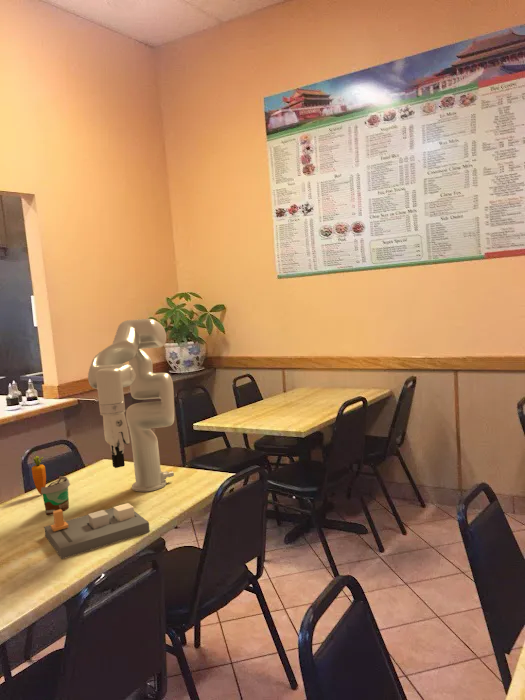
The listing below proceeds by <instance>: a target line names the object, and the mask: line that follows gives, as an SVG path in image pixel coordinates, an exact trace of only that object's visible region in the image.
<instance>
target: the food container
mask: <svg viewBox="0 0 525 700" xmlns="http://www.w3.org/2000/svg"><path fill="white" fill-rule="evenodd" d="M70 485H71V483H70V480H69V479H68V477H67V476H62V475H60V476H59V477H58V479H57V480H55V481H53V482H51V483H50V484H48V485H47V486H45V487H41V494H42V498H43V503H44V509H45V513H46V515H47V516H51V515H53V511H56V510H59V509H61V510H62V511H63V513H64V512H66V511H68V510H69V509H70V505H69V504H70V502H69V501H70V499H69V487H70ZM41 494H40V495H41Z"/></svg>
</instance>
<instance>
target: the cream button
mask: <svg viewBox="0 0 525 700" xmlns="http://www.w3.org/2000/svg"><path fill="white" fill-rule="evenodd" d="M113 508H114V516H115V519H116V520H117V521H118V522H120V521H123V520H127V519H130V518H133V517H135V516H134V511H135V509H134V506H133V505H131V504H130V503H129V502H127V503H124V504H123V503H122V504H120V505H117V506H113Z"/></svg>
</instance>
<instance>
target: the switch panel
mask: <svg viewBox="0 0 525 700" xmlns="http://www.w3.org/2000/svg"><path fill="white" fill-rule="evenodd" d="M103 510H104V511H105V512H106V513H108V516H109V525H106V526H102V527H99V528H96V529H91V528H90V527H89V519H88V514H86V515H83V516H79V517H75V518H72V519H68V520H64V522H65V521H66V523H67V524H68V525H69V527H68V528H65V529H61V530H58V531H53V530H52V529H51V525H54V523H52V524H50V525H46V526H43V528H44V536H45V538H46V539H47V541H48V542H49V544H50V545H51V546H52V547H53V549H54V550H55V552H56V553H57V554H58V556H59V557H60V559H61V560H63V559H66V558H69V557H72V556H75V555H78V554H81V553H85V552H86V553H87V552H89V551H91V550H95V549H98V548H101V547H104V546H108V545H110V544H114V543H117V542H120V541H121V542H122V541H123V540H126V539H127V540H128V539H131V538H134V537H137V536H140V535H143V534H147V533H150V523H149V521H148V520H146V519H145V518H144V517H143V516H141V514H139V513H138V512H136V511H135V510H134V516H135V517H133V518H130V519H127V520H123V521H120V522H118V521H117V520H116V519H115V516H114V507H111V508H108V509H103Z"/></svg>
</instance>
